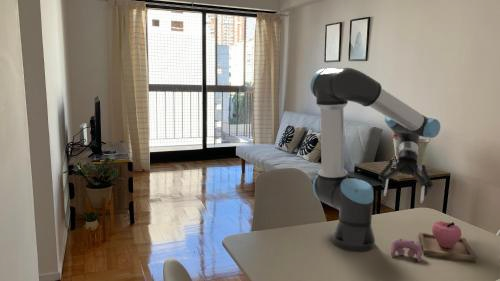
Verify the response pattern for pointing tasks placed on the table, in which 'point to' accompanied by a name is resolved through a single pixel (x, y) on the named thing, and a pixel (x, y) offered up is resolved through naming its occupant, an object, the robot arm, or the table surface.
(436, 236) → the apple
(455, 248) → the walnut tray
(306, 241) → the table surface
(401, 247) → the video game controller
